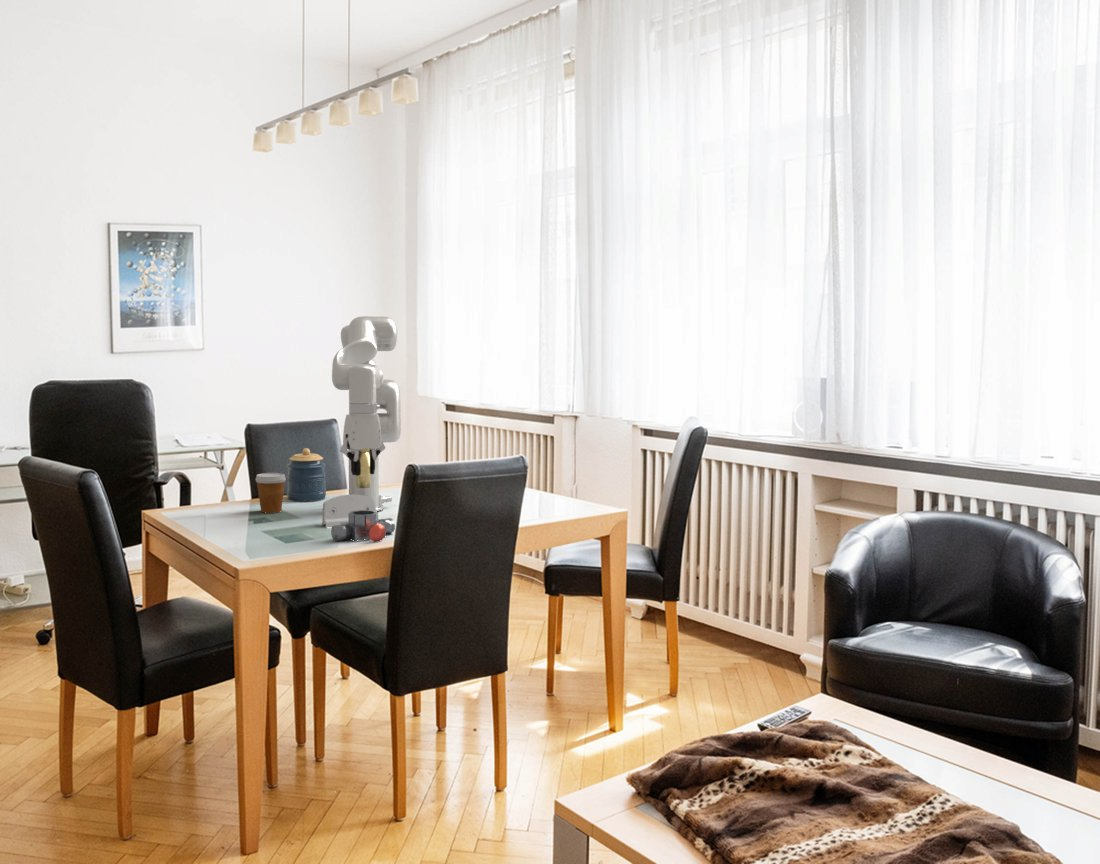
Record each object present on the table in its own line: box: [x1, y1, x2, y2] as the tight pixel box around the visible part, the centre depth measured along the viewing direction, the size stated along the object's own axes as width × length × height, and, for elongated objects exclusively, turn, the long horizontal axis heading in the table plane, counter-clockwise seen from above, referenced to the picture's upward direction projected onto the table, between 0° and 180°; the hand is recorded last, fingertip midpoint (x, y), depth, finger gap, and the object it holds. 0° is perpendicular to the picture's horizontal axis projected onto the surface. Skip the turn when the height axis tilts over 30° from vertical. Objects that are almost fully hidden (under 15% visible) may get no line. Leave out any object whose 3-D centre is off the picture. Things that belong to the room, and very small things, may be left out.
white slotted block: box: [321, 494, 379, 528], centre depth 298 cm, size 17×5×10 cm, turn 116°
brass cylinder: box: [356, 448, 371, 488], centre depth 277 cm, size 4×4×12 cm
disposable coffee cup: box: [254, 472, 287, 514], centre depth 315 cm, size 10×10×12 cm
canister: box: [286, 447, 327, 503], centre depth 339 cm, size 13×13×18 cm
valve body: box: [330, 510, 396, 542], centre depth 278 cm, size 18×12×7 cm, turn 131°
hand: (363, 473), depth 278 cm, fingers closed on brass cylinder, 4 cm apart
